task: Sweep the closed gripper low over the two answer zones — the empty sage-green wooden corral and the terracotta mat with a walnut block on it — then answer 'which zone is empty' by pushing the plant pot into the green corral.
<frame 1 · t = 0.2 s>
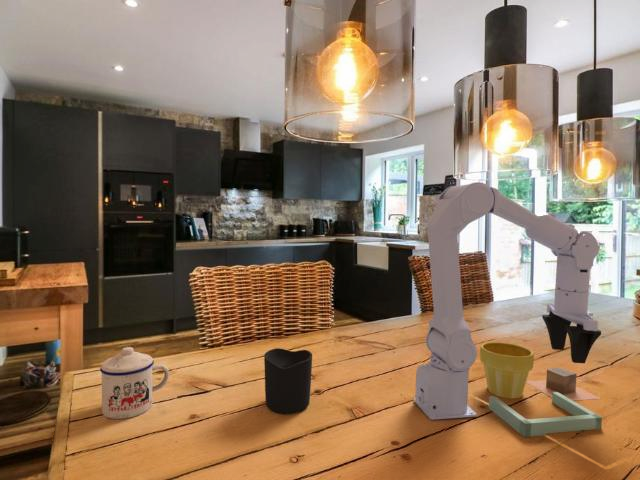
hand: (567, 355, 79), 10 cm above the table, tool pointing down, fingers open, 7 cm apart
green corral: (537, 415, 74), on the table
walnut block: (560, 389, 85), resting on terracotta mat
terracotta mat: (560, 391, 85), on the table
plant pot: (504, 393, 84), on the table
teacup with lid: (136, 407, 75), on the table
pen holder: (287, 405, 77), on the table
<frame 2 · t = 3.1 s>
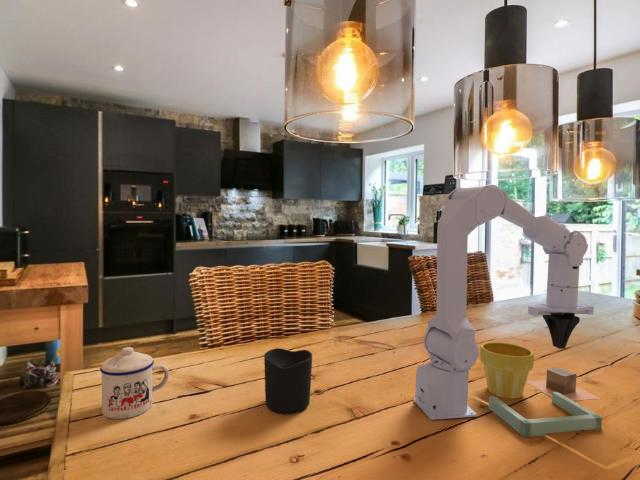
hand: (559, 347, 84), 10 cm above the table, tool pointing down, fingers closed
nothing on the table moved.
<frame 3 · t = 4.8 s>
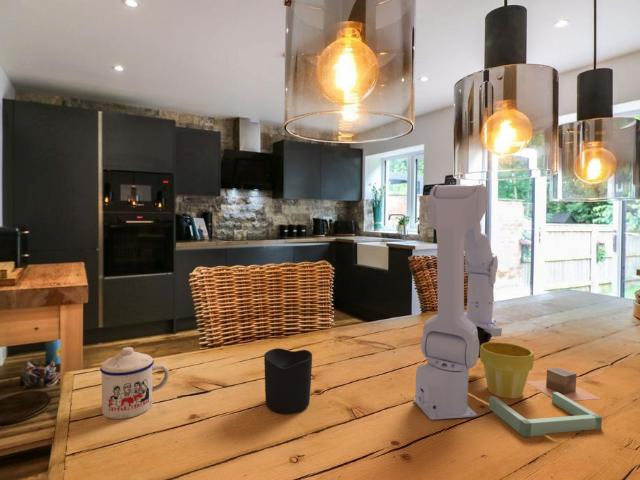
hand: (477, 356, 94), 4 cm above the table, tool pointing down, fingers closed
nothing on the table moved.
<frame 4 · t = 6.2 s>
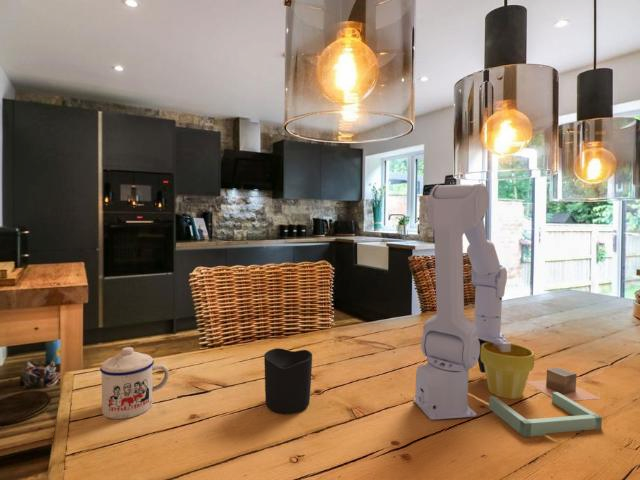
hand: (485, 371, 91), 2 cm above the table, tool pointing down, fingers closed
plant pot: (504, 393, 84), on the table, touching gripper
everything else where it was.
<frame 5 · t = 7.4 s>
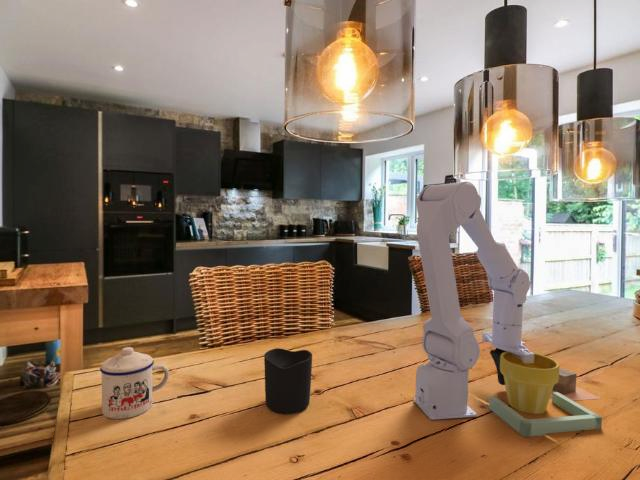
hand: (504, 383, 84), 2 cm above the table, tool pointing down, fingers closed
plant pot: (526, 407, 78), on the table, touching gripper
everything else where it was.
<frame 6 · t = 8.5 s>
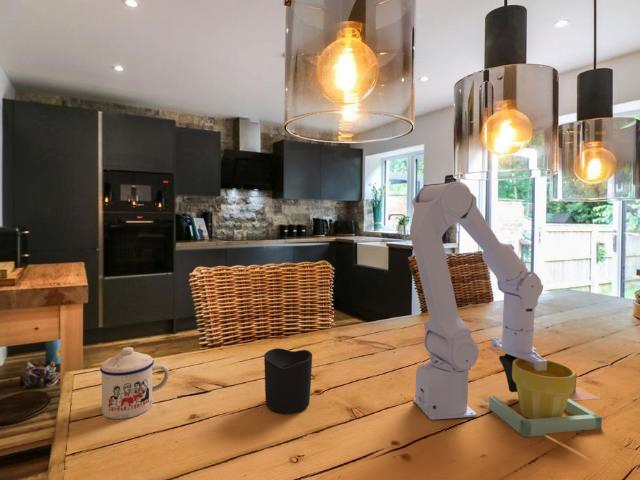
hand: (514, 391, 81), 2 cm above the table, tool pointing down, fingers closed
plant pot: (539, 417, 74), on the table, touching gripper
everything else where it was.
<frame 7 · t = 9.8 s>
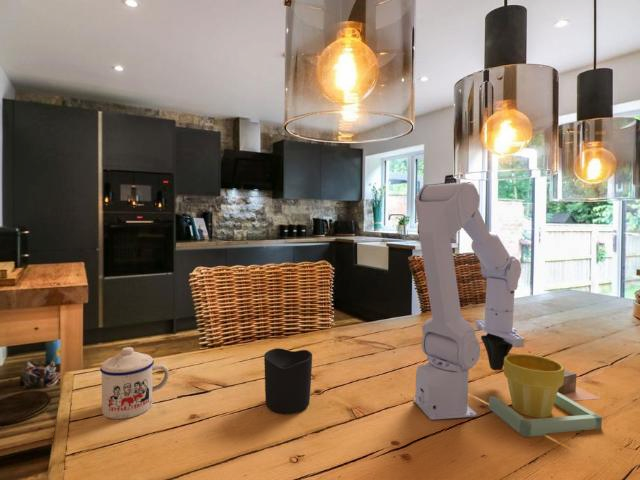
hand: (496, 368, 87), 4 cm above the table, tool pointing down, fingers closed
plant pot: (530, 411, 76), on the table
everything else where it was.
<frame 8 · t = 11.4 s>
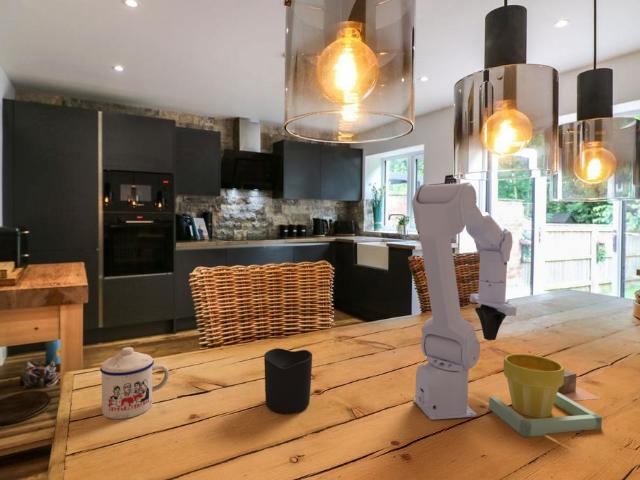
hand: (489, 339, 89), 10 cm above the table, tool pointing down, fingers closed
nothing on the table moved.
at the end: plant pot inside the target area (1.7 cm from its centre), on the table; plant pot tilted 0°; walnut block moved 0.0 cm from its start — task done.
